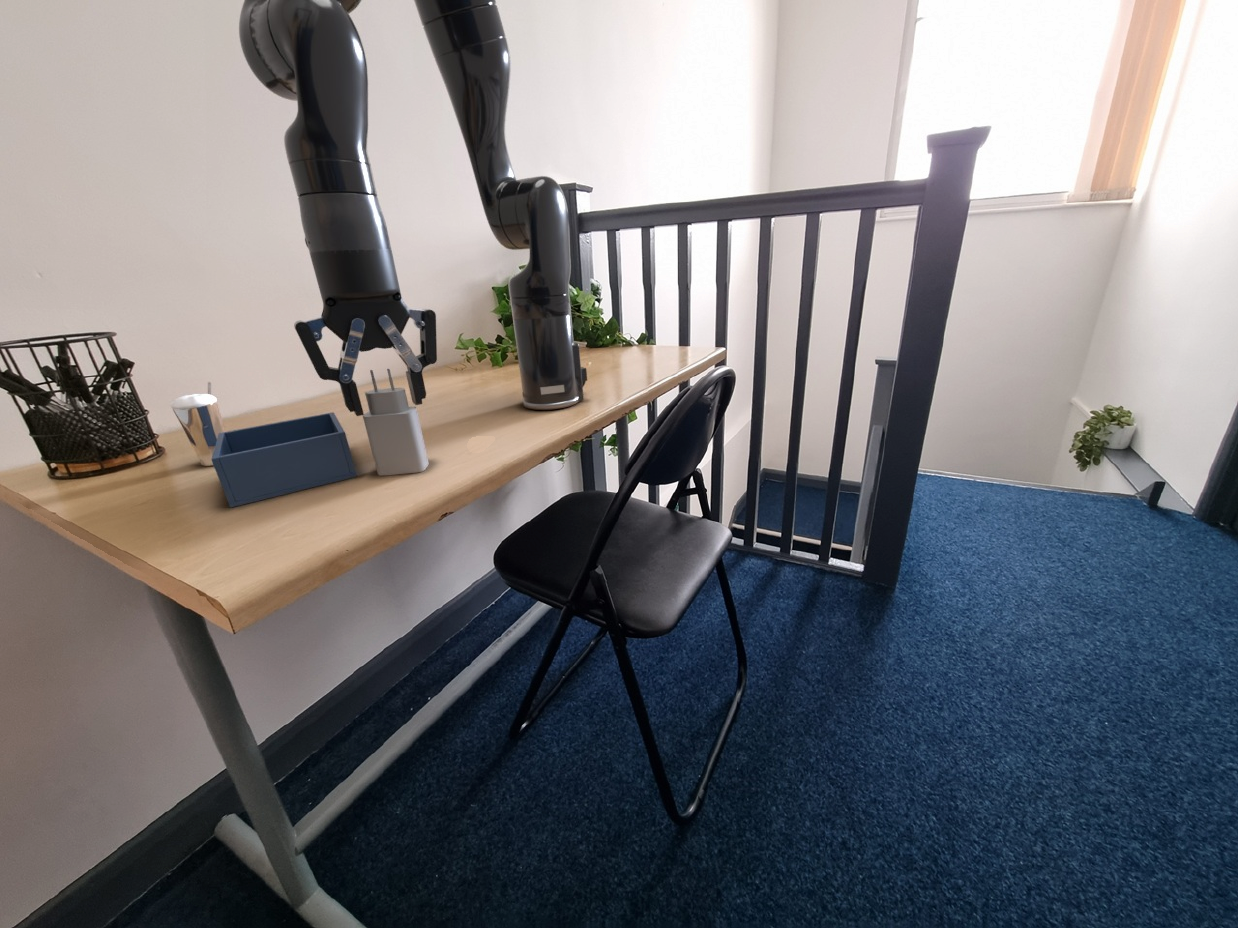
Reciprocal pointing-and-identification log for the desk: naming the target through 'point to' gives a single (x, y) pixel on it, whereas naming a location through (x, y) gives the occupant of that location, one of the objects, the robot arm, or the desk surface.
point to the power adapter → (394, 431)
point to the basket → (282, 458)
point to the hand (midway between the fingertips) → (389, 408)
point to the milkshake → (200, 422)
